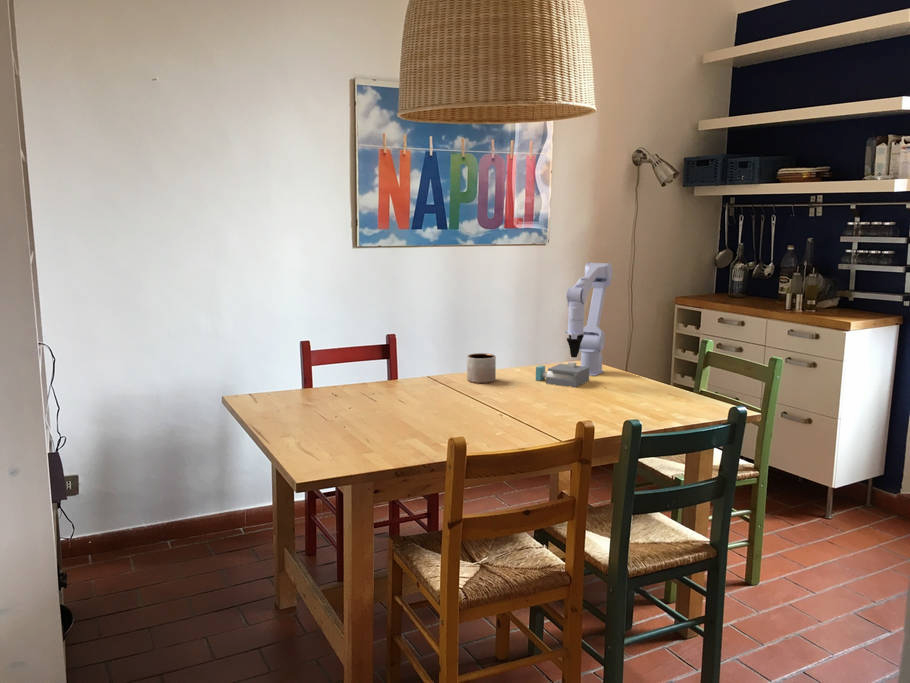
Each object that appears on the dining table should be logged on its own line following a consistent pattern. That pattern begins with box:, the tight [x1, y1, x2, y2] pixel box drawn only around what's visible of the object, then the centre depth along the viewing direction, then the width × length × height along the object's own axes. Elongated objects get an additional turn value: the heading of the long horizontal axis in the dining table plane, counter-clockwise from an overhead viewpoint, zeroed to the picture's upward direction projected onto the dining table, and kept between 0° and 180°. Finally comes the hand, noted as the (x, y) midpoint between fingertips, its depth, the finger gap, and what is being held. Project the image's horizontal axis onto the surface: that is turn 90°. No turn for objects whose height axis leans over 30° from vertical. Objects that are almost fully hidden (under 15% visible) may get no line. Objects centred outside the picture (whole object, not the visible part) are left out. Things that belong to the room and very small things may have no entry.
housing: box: [545, 363, 590, 388], centre depth 298 cm, size 12×12×5 cm
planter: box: [466, 352, 497, 384], centre depth 300 cm, size 11×11×10 cm
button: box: [567, 361, 577, 368], centre depth 300 cm, size 2×2×2 cm
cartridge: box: [535, 364, 574, 382], centre depth 298 cm, size 4×16×5 cm, turn 58°
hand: (574, 355), depth 297 cm, fingers open, 7 cm apart
